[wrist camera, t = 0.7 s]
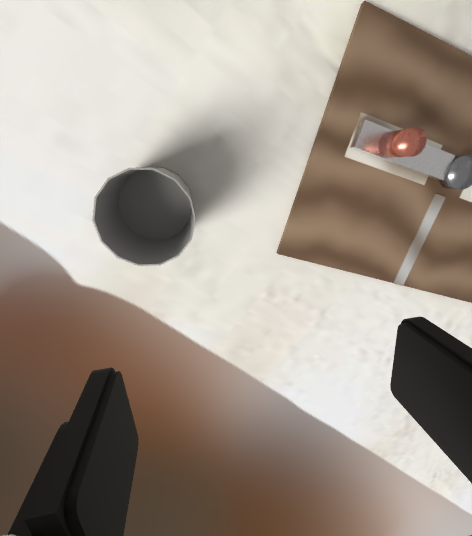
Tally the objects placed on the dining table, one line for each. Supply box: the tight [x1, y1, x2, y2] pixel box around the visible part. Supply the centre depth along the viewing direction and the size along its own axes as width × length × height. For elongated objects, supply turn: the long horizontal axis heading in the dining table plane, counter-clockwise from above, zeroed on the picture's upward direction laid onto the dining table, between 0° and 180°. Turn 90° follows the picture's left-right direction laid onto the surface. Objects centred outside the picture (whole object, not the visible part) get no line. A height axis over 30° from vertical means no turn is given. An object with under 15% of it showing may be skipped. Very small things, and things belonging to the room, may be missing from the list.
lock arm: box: [350, 119, 472, 190], centre depth 34 cm, size 17×4×5 cm, turn 74°
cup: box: [93, 167, 196, 266], centre depth 29 cm, size 8×8×10 cm
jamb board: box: [277, 1, 472, 303], centre depth 38 cm, size 28×38×3 cm
